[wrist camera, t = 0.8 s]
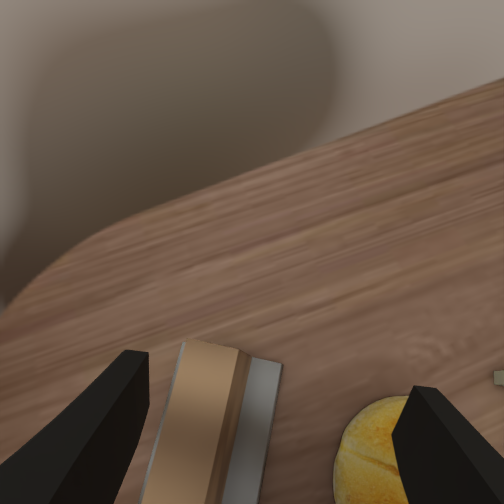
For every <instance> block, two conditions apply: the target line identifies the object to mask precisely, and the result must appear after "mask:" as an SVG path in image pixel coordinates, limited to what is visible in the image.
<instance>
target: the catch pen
mask: <svg viewBox="0 0 504 504" xmlns="http://www.w3.org/2000/svg"><path fill="white" fill-rule="evenodd" d="M494 384H496V385H501V386H504V370H502V371H494Z"/></svg>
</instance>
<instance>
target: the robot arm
mask: <svg viewBox="0 0 504 504" xmlns="http://www.w3.org/2000/svg"><path fill="white" fill-rule="evenodd" d="M149 405H150V401H149V352H142V351H134V350H125V351H123V352H122V353H121V354H120V355H119V356H118V357H117V358H116V359H115V360H114V361H113V362H112V363H111V364H110V365H109V366H108V367H107V368H106V369H105V370H104V371H103V372H102V373H101V374H100V375H99V376H98V377H97V378H96V379H95V380H94V381H93V382H92V383H91V384H90V385H89V386H88V387H87V388H86V389H85V390H84V391H83V392H82V393H81V394H80V395H79V396H78V397H77V398H76V399H75V400H74V401H73V402H72V403H70V404H69V405H68V406H67V407H66V408H65V409H64V410H63V411H62V412H61V413H60V414H59V415H58V416H57V417H56V418H54V419H53V420H52V421H51V422H50V423H49V424H48V425H46V426H45V427H44V428H43V429H42V430H41V431H40V432H38V433H37V434H36V435H35V436H34V437H33V438H32V439H30V440H29V441H28V442H27V443H26V444H25V445H23V446H22V447H21V448H20V449H19V450H18V451H16V452H15V453H14V454H13V455H12V456H10V457H9V458H8V459H7V460H5V461H4V462H3V463H2V464H1V465H0V504H113V503H114V501H115V499H116V496H117V494H118V491H119V489H120V487H121V484H122V482H123V479H124V477H125V475H126V472H127V470H128V467H129V465H130V462H131V460H132V458H133V455H134V453H135V450H136V448H137V445H138V442H139V439H140V436H141V432H142V429H143V426H144V423H145V419H146V416H147V412H148V409H149ZM391 437H392V442H393V447H394V452H395V457H396V462H397V466H398V471H399V475H400V478H401V482H402V485H403V488H404V491H405V494H406V497H407V500H408V503H409V504H504V458H503V457H502V456H501V455H500V454H499V453H498V452H497V451H496V450H495V449H494V448H493V447H492V446H491V445H490V444H489V443H488V442H487V441H486V440H485V439H484V437H483V436H482V435H481V434H480V433H479V432H478V431H477V430H476V429H475V428H474V427H473V426H472V425H471V424H470V423H469V422H468V421H467V419H466V418H465V417H464V416H463V415H462V414H461V413H460V412H459V411H458V410H457V409H456V408H455V407H454V406H453V405H452V404H451V403H450V402H449V401H448V400H447V398H446V397H445V396H444V395H443V394H442V393H441V392H440V391H439V390H438V389H437V388H431V387H423V386H415V385H414V386H413V388H412V390H411V393H410V395H409V397H408V399H407V401H406V403H405V406H404V408H403V410H402V412H401V414H400V416H399V419H398V421H397V423H396V425H395V427H394V429H393V432H392V434H391Z"/></svg>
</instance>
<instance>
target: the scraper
mask: <svg viewBox="0 0 504 504" xmlns="http://www.w3.org/2000/svg"><path fill="white" fill-rule="evenodd" d="M282 369H283V364H281V363H277V362H272V361H268V360H263V359H259V358H254V357H251V356H249V355H248V354H246V353H244V352H243V351H241V350H239V349H235V348H231V347H226V346H222V345H217V344H212V343H208V342H203V341H199V340H194V339H189V338H187V339H186V342H183V343H182V347H181V350H180V354H179V357H178V361H177V365H176V368H175V372H174V375H173V379H172V383H171V386H170V390H169V393H168V397H167V401H166V404H165V408H164V411H163V415H162V419H161V422H160V426H159V429H158V433H157V437H156V440H155V444H154V447H153V451H152V455H151V458H150V462H149V465H148V469H147V473H146V476H145V480H144V483H143V487H142V491H141V494H140V498H139V501H138V504H258V503H259V498H260V492H261V487H262V481H263V475H264V470H265V464H266V459H267V453H268V448H269V442H270V436H271V431H272V425H273V420H274V414H275V408H276V403H277V397H278V392H279V386H280V381H281V375H282Z"/></svg>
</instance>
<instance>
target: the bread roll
mask: <svg viewBox="0 0 504 504" xmlns="http://www.w3.org/2000/svg"><path fill="white" fill-rule="evenodd" d="M408 397H409V396H393V397H388V398H384V399H381V400H378V401H375V402H374V403H372V404H370V405H368V406H367V407H366V408H364V409H363V410H361V411H360V412H359V413H358V414H357V415H356V416H355V417H354V418H353V419H352V420H351V422H350V423H349V424H348V426H347V427H346V429H345V431H344V433H343V436H342V439H341V443H340V447H339V449H338V452H337V455H336V458H335V462H334V468H333V491H334V499H335V503H336V504H409V503H408V500H407V497H406V494H405V491H404V488H403V485H402V482H401V478H400V475H399V471H398V466H397V462H396V457H395V452H394V447H393V442H392V437H391V434H392V432H393V429H394V427H395V425H396V423H397V421H398V419H399V416H400V414H401V412H402V410H403V408H404V406H405V403H406V401H407V399H408Z"/></svg>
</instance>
